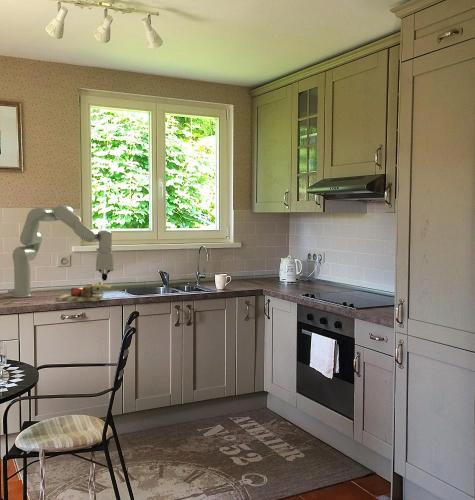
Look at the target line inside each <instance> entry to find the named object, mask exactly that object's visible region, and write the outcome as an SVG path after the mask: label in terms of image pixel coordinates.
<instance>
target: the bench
mask: <svg viewBox="0 0 475 500" xmlns="http://www.w3.org/2000/svg"><path fill="white" fill-rule="evenodd" d="M92 285H93V284H91V285H89V284H86V286H83V287H82V288H83V290H81V296H71V294H60V295H59V296H57V297H56V302H100V301H101V300H103V297H104V294H103V295H94V294H91V290H94V289H95V287H91V286H92ZM100 299H101V300H100Z"/></svg>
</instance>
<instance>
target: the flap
mask: <svg viewBox="0 0 475 500" xmlns="http://www.w3.org/2000/svg"><path fill="white" fill-rule="evenodd" d="M91 285H92V286H91V287H94V288H95V287H96V288H101V289H110V288H111V287H112V284H104V283H103V284H100V283H99V284H97V283H93V284H91Z"/></svg>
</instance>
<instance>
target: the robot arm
mask: <svg viewBox="0 0 475 500" xmlns="http://www.w3.org/2000/svg"><path fill="white" fill-rule="evenodd" d="M55 221H60V222H63V223H64V224H65V225H66V226H68V227H69V228H70V229H72V231H73V232H74V234H75V235H76V236H78V237H79V238H80V239H82V240H83V241H85V242H87V243H97V242H98V248H96V249H95V250H96V252H97V254H96V259H95V260H96V261H95V271H97V272H99V273H100V274H101V280H102V281H107V280H108V274H109V273H110V272H114V254H113V252H112V247H113V246H112V242H113V240H112V239H113V233H112V231H111V230H99V229H90V228H89V227H87V226H86V225H85V224H84V223H83V222H82V218H81V217H80V216H79V215H77V213H75V212H74V209H73V208H72V207H71V206H69V205H65V204H59V205H57V206H55V207H35V208H32V209H31V210H29V212H28V213H27V214H26V219H25V221H24V225H23V228H22V231H21V232H20V236H19V241H20V244H22V245H23V246H22V245H21V246H17V247H16V248H14V249H13V251H12V253H11V254H12V260H13V261H12V263H13V275H14V276H13V278H14V279H13V281H14V284H13V285H14V286H13V287H14V288H13V289H8V290H7V294H11V297H12V298H31V297H33V296H34V293H31V265H30V261H32V260H35V259H36V257H37V256H38V253H39V251H40V247H41V246H42V245H41V244H42V240H43V236H42V234H41V232H40V231H39V227H40V222H55Z"/></svg>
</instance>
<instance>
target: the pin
mask: <svg viewBox="0 0 475 500" xmlns="http://www.w3.org/2000/svg"><path fill="white" fill-rule="evenodd" d="M81 290H83V287H71V290H70V295H71V296H81ZM104 293H105V292H104V289H101V290H91V294H97V295H103V296H104Z"/></svg>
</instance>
